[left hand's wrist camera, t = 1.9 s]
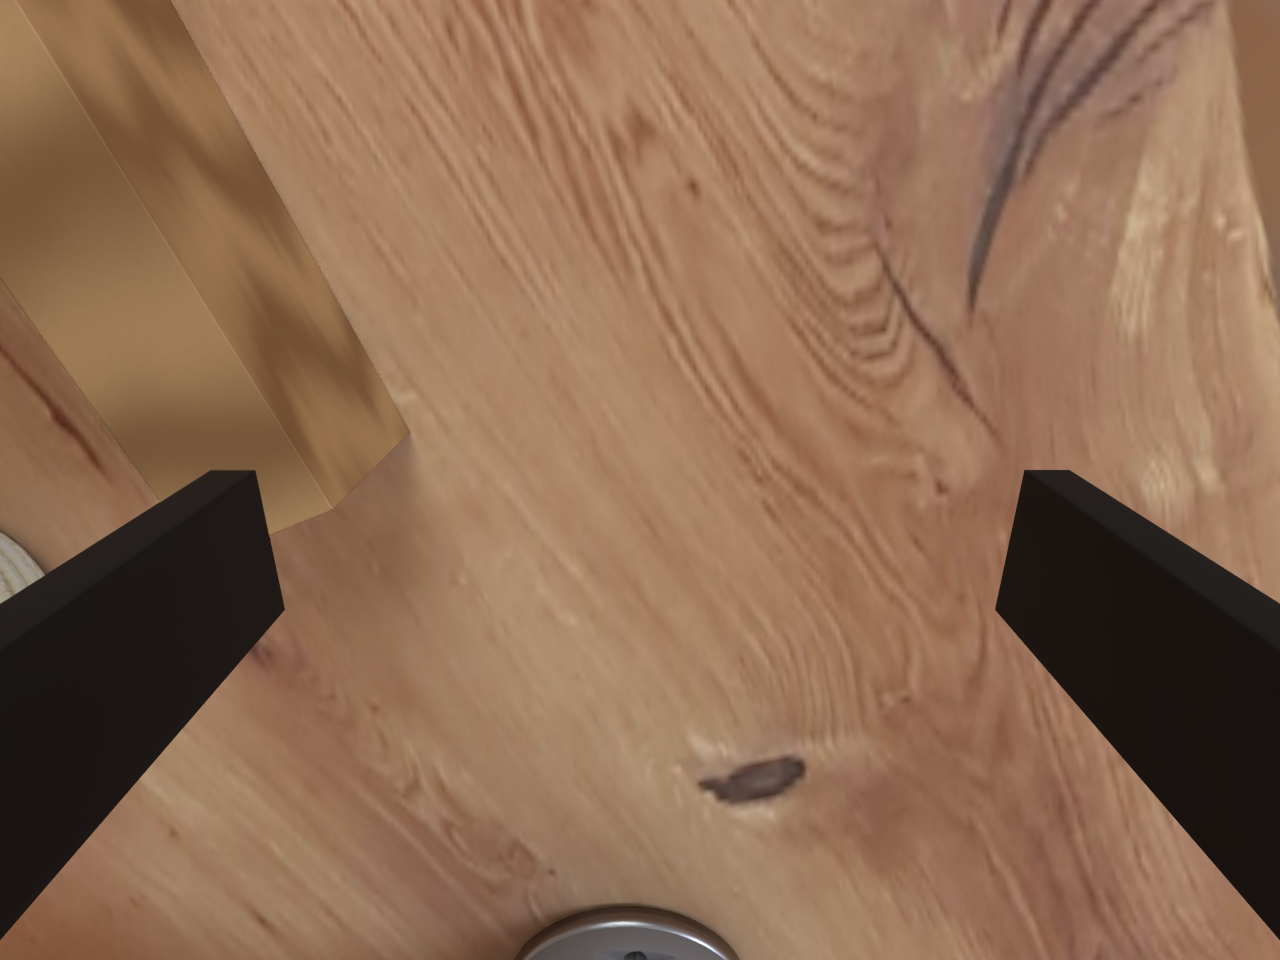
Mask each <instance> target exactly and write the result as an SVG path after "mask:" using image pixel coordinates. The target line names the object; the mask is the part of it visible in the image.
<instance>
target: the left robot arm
mask: <svg viewBox="0 0 1280 960" xmlns="http://www.w3.org/2000/svg"><path fill="white" fill-rule="evenodd" d="M284 610H285V608H284V603H283V599H282V594H281V589H280V584H279V580H278V575H277V570H276V565H275V561H274V556H273V551H272V546H271V542H270V537H269V532H268V527H267V523H266V518H265V513H264V508H263V503H262V499H261V494H260V489H259V484H258V480H257V475H256V470H210V471H208V472H207V473H205V474H204V475H202V476H201V477H199V478H197V479H196V480H194V481H193V482H191V483H190V484H188V485H186V486H185V487H183V488H182V489H180V490H178V491H177V492H175V493H174V494H172V495H171V496H169V497H167V498H166V499H164V500H163V501H161V502H160V503H158V504H156V505H155V506H153V507H152V508H150V509H149V510H147V511H145V512H144V513H142V514H141V515H139V516H138V517H136V518H134V519H133V520H131V521H130V522H128V523H127V524H125V525H123V526H122V527H120V528H119V529H117V530H116V531H114V532H112V533H111V534H109V535H108V536H106V537H104V538H103V539H101V540H100V541H98V542H97V543H95V544H93V545H92V546H90V547H89V548H87V549H86V550H84V551H82V552H81V553H79V554H78V555H76V556H75V557H73V558H71V559H70V560H68V561H67V562H65V563H64V564H62V565H60V566H59V567H57V568H56V569H54V570H53V571H51V572H49V573H48V574H46V575H45V576H43V577H41V578H40V579H38V580H37V581H35V582H34V583H32V584H30V585H29V586H27V587H26V588H24V589H23V590H21V591H19V592H18V593H16V594H15V595H13V596H12V597H10V598H8V599H7V600H5V601H4V602H2V603H1V604H0V940H1V939H2V937H3V936H4V935H5V934H6V933H7V932H8V930H9V929H10V928H11V927H12V926H13V925H14V923H15V922H16V921H17V920H18V919H19V918H20V917H21V915H22V914H23V913H24V912H25V911H26V910H27V908H28V907H29V906H30V905H31V904H32V903H33V901H34V900H35V899H36V898H37V897H38V896H39V894H40V893H41V892H42V891H43V890H44V889H45V887H46V886H47V885H48V884H49V883H50V882H51V881H52V879H53V878H54V877H55V876H56V875H57V874H58V872H59V871H60V870H61V869H62V868H63V867H64V865H65V864H66V863H67V862H68V861H69V860H70V858H71V857H72V856H73V855H74V854H75V853H76V852H77V850H78V849H79V848H80V847H81V846H82V845H83V843H84V842H85V841H86V840H87V839H88V838H89V836H90V835H91V834H92V833H93V832H94V831H95V829H96V828H97V827H98V826H99V825H100V824H101V822H102V821H103V820H104V819H105V818H106V817H107V816H108V814H109V813H110V812H111V811H112V810H113V809H114V807H115V806H116V805H117V804H118V803H119V802H120V800H121V799H122V798H123V797H124V796H125V795H126V793H127V792H128V791H129V790H130V789H131V788H132V786H133V785H134V784H135V783H136V782H137V781H138V780H139V778H140V777H141V776H142V775H143V774H144V773H145V771H146V770H147V769H148V768H149V767H150V766H151V764H152V763H153V762H154V761H155V760H156V759H157V757H158V756H159V755H160V754H161V753H162V752H163V751H164V749H165V748H166V747H167V746H168V745H169V744H170V742H171V741H172V740H173V739H174V738H175V737H176V735H177V734H178V733H179V732H180V731H181V730H182V728H183V727H184V726H185V725H186V724H187V723H188V721H189V720H190V719H191V718H192V717H193V716H194V715H195V713H196V712H197V711H198V710H199V709H200V708H201V706H202V705H203V704H204V703H205V702H206V701H207V699H208V698H209V697H210V696H211V695H212V694H213V692H214V691H215V690H216V689H217V688H218V687H219V686H220V684H221V683H222V682H223V681H224V680H225V679H226V677H227V676H228V675H229V674H230V673H231V672H232V670H233V669H234V668H235V667H236V666H237V665H238V663H239V662H240V661H241V660H242V659H243V658H244V656H245V655H246V654H247V653H248V652H249V651H250V650H251V648H252V647H253V646H254V645H255V644H256V643H257V641H258V640H259V639H260V638H261V637H262V636H263V634H264V633H265V632H266V631H267V630H268V629H269V627H270V626H271V625H272V624H273V623H274V622H275V621H276V619H277V618H278V617H279V616H280V615H281V614H282V612H283V611H284ZM995 610H996V611H997V612H998V614H999V615H1000V616H1001V617H1002V618H1003V619H1004V621H1005V622H1006V623H1007V624H1008V625H1009V626H1010V627H1011V629H1012V630H1013V631H1014V632H1015V633H1016V634H1017V636H1018V637H1019V638H1020V639H1021V640H1022V641H1023V643H1024V644H1025V645H1026V646H1027V647H1028V648H1029V650H1030V651H1031V652H1032V653H1033V654H1034V655H1035V656H1036V658H1037V659H1038V660H1039V661H1040V662H1041V663H1042V665H1043V666H1044V667H1045V668H1046V669H1047V670H1048V672H1049V673H1050V674H1051V675H1052V676H1053V677H1054V679H1055V680H1056V681H1057V682H1058V683H1059V684H1060V686H1061V687H1062V688H1063V689H1064V690H1065V691H1066V692H1067V694H1068V695H1069V696H1070V697H1071V698H1072V699H1073V701H1074V702H1075V703H1076V704H1077V705H1078V706H1079V708H1080V709H1081V710H1082V711H1083V712H1084V713H1085V715H1086V716H1087V717H1088V718H1089V719H1090V720H1091V722H1092V723H1093V724H1094V725H1095V726H1096V727H1097V728H1098V730H1099V731H1100V732H1101V733H1102V734H1103V735H1104V737H1105V738H1106V739H1107V740H1108V741H1109V742H1110V744H1111V745H1112V746H1113V747H1114V748H1115V749H1116V751H1117V752H1118V753H1119V754H1120V755H1121V756H1122V757H1123V759H1124V760H1125V761H1126V762H1127V763H1128V764H1129V766H1130V767H1131V768H1132V769H1133V770H1134V771H1135V773H1136V774H1137V775H1138V776H1139V777H1140V778H1141V780H1142V781H1143V782H1144V783H1145V784H1146V785H1147V787H1148V788H1149V789H1150V790H1151V791H1152V792H1153V793H1154V795H1155V796H1156V797H1157V798H1158V799H1159V800H1160V802H1161V803H1162V804H1163V805H1164V806H1165V807H1166V809H1167V810H1168V811H1169V812H1170V813H1171V814H1172V816H1173V817H1174V818H1175V819H1176V820H1177V821H1178V822H1179V824H1180V825H1181V826H1182V827H1183V828H1184V829H1185V831H1186V832H1187V833H1188V834H1189V835H1190V836H1191V838H1192V839H1193V840H1194V841H1195V842H1196V843H1197V845H1198V846H1199V847H1200V848H1201V849H1202V850H1203V852H1204V853H1205V854H1206V855H1207V856H1208V857H1209V858H1210V860H1211V861H1212V862H1213V863H1214V864H1215V865H1216V867H1217V868H1218V869H1219V870H1220V871H1221V872H1222V874H1223V875H1224V876H1225V877H1226V878H1227V879H1228V881H1229V882H1230V883H1231V884H1232V885H1233V886H1234V887H1235V889H1236V890H1237V891H1238V892H1239V893H1240V894H1241V896H1242V897H1243V898H1244V899H1245V900H1246V901H1247V903H1248V904H1249V905H1250V906H1251V907H1252V908H1253V910H1254V911H1255V912H1256V913H1257V914H1258V915H1259V917H1260V918H1261V919H1262V920H1263V921H1264V922H1265V923H1266V925H1267V926H1268V927H1269V928H1270V929H1271V930H1272V932H1273V933H1274V934H1275V935H1276V936H1277V937H1278V939H1279V940H1280V604H1279V603H1278V602H1276V601H1275V600H1273V599H1272V598H1270V597H1268V596H1267V595H1265V594H1264V593H1262V592H1261V591H1259V590H1257V589H1256V588H1254V587H1253V586H1251V585H1250V584H1248V583H1246V582H1245V581H1243V580H1242V579H1240V578H1239V577H1237V576H1235V575H1234V574H1232V573H1231V572H1229V571H1227V570H1226V569H1224V568H1223V567H1221V566H1220V565H1218V564H1216V563H1215V562H1213V561H1212V560H1210V559H1209V558H1207V557H1205V556H1204V555H1202V554H1201V553H1199V552H1198V551H1196V550H1194V549H1193V548H1191V547H1190V546H1188V545H1187V544H1185V543H1183V542H1182V541H1180V540H1179V539H1177V538H1176V537H1174V536H1172V535H1171V534H1169V533H1168V532H1166V531H1164V530H1163V529H1161V528H1160V527H1158V526H1157V525H1155V524H1153V523H1152V522H1150V521H1149V520H1147V519H1146V518H1144V517H1142V516H1141V515H1139V514H1138V513H1136V512H1135V511H1133V510H1131V509H1130V508H1128V507H1127V506H1125V505H1124V504H1122V503H1120V502H1119V501H1117V500H1116V499H1114V498H1113V497H1111V496H1109V495H1108V494H1106V493H1105V492H1103V491H1102V490H1100V489H1098V488H1097V487H1095V486H1094V485H1092V484H1090V483H1089V482H1087V481H1086V480H1084V479H1083V478H1081V477H1079V476H1078V475H1076V474H1075V473H1073V472H1072V471H1070V470H1024V475H1023V480H1022V484H1021V489H1020V494H1019V499H1018V503H1017V508H1016V513H1015V518H1014V522H1013V527H1012V532H1011V537H1010V542H1009V546H1008V551H1007V556H1006V561H1005V565H1004V570H1003V575H1002V580H1001V584H1000V589H999V594H998V599H997V603H996V608H995ZM515 960H740V959H739V958H738V956H737V955H736V953H735V952H734V950H733V949H732V948H731V947H730V946H729V945H728V944H727V943H726V942H725V941H724V940H723V939H722V938H721V937H720V936H718V935H717V934H716V933H715V932H713V931H711V930H710V929H708V928H707V927H705V926H703V925H701V924H699V923H697V922H695V921H693V920H691V919H688V918H686V917H683V916H680V915H677V914H674V913H670V912H666V911H662V910H656V909H649V908H639V907H616V908H605V909H598V910H593V911H588V912H584V913H580V914H577V915H574V916H571V917H568V918H565V919H563V920H561V921H559V922H556V923H554V924H553V925H551V926H549V927H547V928H546V929H544V930H543V931H541V932H540V933H538V934H537V935H536V936H534V937H533V938H532V939H531V940H530V941H529V942H528V943H527V944H526V945H525V946H524V947H523V948H522V950H521V951H520V952H519V954H518V955H517V957H516V958H515Z"/></svg>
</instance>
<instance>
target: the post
mask: <svg viewBox="0 0 1280 960" xmlns="http://www.w3.org/2000/svg"><path fill="white" fill-rule="evenodd" d="M0 279H1V280H2V281H3V283H4V284H5V286H6V287H7V288H8V290H9V291H10V293H11V294H12V295H13V297H14V298H15V300H16V301H17V302H18V304H19V305H20V307H21V308H22V309H23V311H24V312H25V314H26V315H27V316H28V318H29V319H30V321H31V322H32V323H33V325H34V326H35V328H36V329H37V330H38V332H39V333H40V335H41V336H42V337H43V339H44V340H45V342H46V343H47V344H48V346H49V347H50V349H51V350H52V351H53V353H54V354H55V356H56V357H57V358H58V360H59V361H60V363H61V364H62V365H63V367H64V368H65V370H66V371H67V372H68V374H69V375H70V377H71V378H72V379H73V381H74V382H75V384H76V385H77V386H78V388H79V389H80V391H81V392H82V393H83V395H84V396H85V398H86V399H87V400H88V402H89V403H90V405H91V406H92V407H93V409H94V410H95V412H96V413H97V414H98V416H99V417H100V419H101V420H102V421H103V423H104V424H105V425H106V427H107V428H108V430H109V431H110V432H111V434H112V435H113V437H114V438H115V439H116V441H117V442H118V444H119V445H120V446H121V448H122V449H123V451H124V452H125V453H126V455H127V456H128V458H129V459H130V460H131V462H132V463H133V465H134V466H135V467H136V469H137V470H138V472H139V473H140V474H141V476H142V477H143V479H144V480H145V481H146V483H147V484H148V486H149V487H150V488H151V490H152V491H153V493H154V494H155V495H156V497H157V498H158V500H159V501H160V502H161V501H163V500H164V499H166V498H167V497H169V496H171V495H172V494H174V493H175V492H177V491H178V490H180V489H182V488H183V487H185V486H186V485H188V484H190V483H191V482H193V481H194V480H196V479H197V478H199V477H201V476H202V475H204V474H205V473H207V472H208V471H210V470H256V475H257V480H258V484H259V489H260V494H261V499H262V503H263V508H264V513H265V518H266V523H267V527H268V532H269V535H272V534H274V533H277V532H279V531H282V530H284V529H287V528H289V527H292V526H294V525H297V524H299V523H301V522H304V521H306V520H309V519H311V518H314V517H316V516H319V515H321V514H324V513H326V512H329V511H331V510H333V509H334V508H335V507H336V506H337V505H338V504H339V503H340V502H341V501H342V500H343V499H344V498H345V497H346V496H347V495H348V494H349V493H350V492H351V491H352V490H353V489H354V488H355V487H356V486H357V485H358V484H359V483H360V482H361V481H362V479H363V478H364V477H365V476H366V475H367V474H368V473H369V472H370V471H371V470H372V469H373V468H374V467H375V466H376V465H377V464H378V463H379V462H380V461H381V460H382V459H383V458H384V457H385V456H386V455H387V454H388V453H389V452H390V451H391V450H392V449H393V448H394V447H395V446H396V445H397V444H398V443H399V442H400V441H401V440H402V439H403V438H404V437H405V436H406V435H407V434H408V433H409V429H408V428H407V426H406V424H405V422H404V420H403V419H402V417H401V415H400V413H399V411H398V410H397V408H396V406H395V404H394V402H393V401H392V399H391V397H390V395H389V393H388V392H387V390H386V388H385V386H384V384H383V383H382V381H381V379H380V377H379V375H378V374H377V372H376V370H375V368H374V366H373V365H372V363H371V361H370V359H369V357H368V356H367V354H366V352H365V350H364V348H363V347H362V345H361V343H360V341H359V339H358V338H357V336H356V334H355V332H354V330H353V329H352V327H351V325H350V323H349V321H348V320H347V318H346V316H345V314H344V312H343V311H342V309H341V307H340V305H339V303H338V302H337V300H336V298H335V296H334V294H333V293H332V291H331V289H330V287H329V285H328V284H327V282H326V280H325V278H324V276H323V275H322V273H321V271H320V269H319V267H318V266H317V264H316V262H315V260H314V258H313V257H312V255H311V253H310V251H309V249H308V248H307V246H306V244H305V242H304V240H303V239H302V237H301V235H300V233H299V231H298V230H297V228H296V226H295V224H294V222H293V221H292V219H291V217H290V215H289V213H288V212H287V210H286V208H285V206H284V204H283V203H282V201H281V199H280V197H279V195H278V194H277V192H276V190H275V188H274V186H273V185H272V183H271V181H270V179H269V177H268V176H267V174H266V172H265V170H264V168H263V167H262V165H261V163H260V161H259V159H258V158H257V156H256V154H255V152H254V150H253V149H252V147H251V145H250V143H249V141H248V140H247V138H246V136H245V134H244V132H243V131H242V129H241V127H240V125H239V123H238V122H237V120H236V118H235V116H234V114H233V113H232V111H231V109H230V107H229V105H228V104H227V102H226V100H225V98H224V96H223V95H222V93H221V91H220V89H219V87H218V86H217V84H216V82H215V80H214V78H213V77H212V75H211V73H210V71H209V69H208V68H207V66H206V64H205V62H204V61H203V59H202V57H201V55H200V53H199V52H198V50H197V48H196V46H195V44H194V43H193V41H192V39H191V37H190V35H189V34H188V32H187V30H186V28H185V26H184V25H183V23H182V21H181V19H180V17H179V16H178V14H177V12H176V10H175V8H174V7H173V5H172V3H171V1H170V0H0Z"/></svg>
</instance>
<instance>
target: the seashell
mask: <svg viewBox="0 0 1280 960" xmlns="http://www.w3.org/2000/svg"><path fill="white" fill-rule="evenodd" d="M43 576H45V574H44V573H43V571H42V570H41V569H40V567H39V566H38V565H37V564H36V563H35V562H34V560H33V559H32V558H31V556H30V555H29V554H28V553H27V552H26V551H25V550H24V549H23V548H22V547H21V546H20V545H18V544H17V543H16V542H14V541H13V540H12V539H11V538H9V537H8V536H7V535H5V534H4V533H2V532H0V604H1V603H2V602H4V601H5V600H7V599H8V598H10V597H12V596H13V595H15V594H16V593H18V592H19V591H21V590H23V589H24V588H26V587H27V586H29V585H30V584H32V583H34V582H35V581H37V580H38V579H40V578H41V577H43Z"/></svg>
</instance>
